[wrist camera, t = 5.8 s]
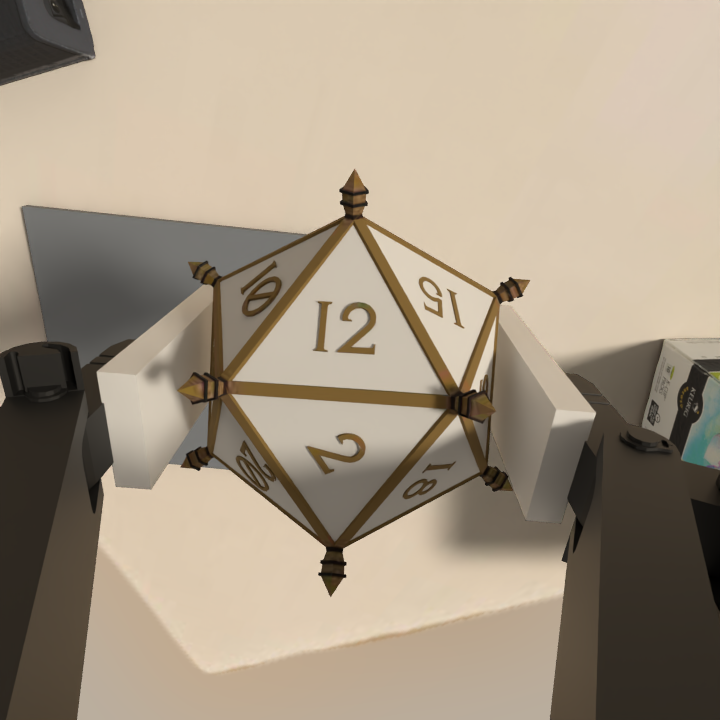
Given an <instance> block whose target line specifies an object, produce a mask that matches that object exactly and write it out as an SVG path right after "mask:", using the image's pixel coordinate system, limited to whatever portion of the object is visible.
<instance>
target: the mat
mask: <svg viewBox="0 0 720 720" xmlns="http://www.w3.org/2000/svg"><path fill="white" fill-rule="evenodd" d="M22 209H23V214H24V220H25V225H26V230H27V235H28V241H29V246H30V251H31V257H32V262H33V267H34V273H35V278H36V283H37V289H38V294H39V299H40V305H41V310H42V315H43V321H44V326H45V331H46V337H47V342H64V343H70V344H72V345H74V346H75V347H77V351H78V355H79V361H80V366H81V368H82V367H84V366H85V365H86V364H90V361H92V360H93V359H94V358H95V357H97V356H98V357H99V354H101V353H102V352H103V351H105V350H106V349H107V348H109V347H110V346H112V345H114V344H117V343H120V342H122V341H125V340H127V339H135V340H136V339H137V338H139V337H140V336H141V335H142V334H143V333H145V332H146V331H147V330H148V329H150V328H151V327H152V326H153V325H155V324H156V323H157V322H158V321H159V320H161V319H162V318H163V317H164V316H166V315H167V314H168V313H169V312H171V311H172V310H173V309H174V308H175V307H177V306H178V305H179V304H180V303H182V302H183V301H184V300H185V299H186V298H188V297H189V296H190V295H191V294H193V293H194V292H195V291H196V290H198V289H199V288H200V287H201V286H202V285H204V284H201V283H200V282H201V281H200V280H196V279H193V278H192V277H193V274H192V271H191V269H190V266H189V264H188V262H205V261H208V264H209V265H210V266H211V267H216V272H217V273H218V274H219V275H220V276H222V277H223V276H225V275H227V274H229V273H231V272H233V271H235V270H237V269H239V268H241V267H243V266H245V265H247V264H249V263H251V262H253V261H255V260H257V259H259V258H261V257H263V256H265V255H267V254H269V253H271V252H273V251H275V250H277V249H279V248H281V247H283V246H285V245H287V244H289V243H291V242H293V241H295V240H297V239H299V238H301V237H303V236H305V235H307V234H298V233H288V232H279V231H269V230H260V229H250V228H240V227H231V226H221V225H212V224H202V223H193V222H183V221H173V220H164V219H154V218H145V217H135V216H126V215H116V214H106V213H97V212H87V211H78V210H68V209H59V208H49V207H39V206H30V205H26V206H22ZM208 410H209V402H208V404H207V405H206V407H205V408H204V410H203V411H202V413H201V414H200V416H199V417H198V419H197V420H196V422H195V423H194V425H193V426H192V428H191V429H190V431H189V433H188V434H187V436H186V437H185V439H184V440H183V442H182V443H181V445H180V446H179V448H178V449H177V451H176V452H175V454H174V455H173V457H172V458H171V460H170V462H169V463H168V464H177V465H182V464H183V462H184V460H185V458H186V454H187V453H188V452H190V451H191V450H193V451H194V450H195V449H197V448H198V447H200V446H201V447H202V448H203V447H206V446H207V435H208ZM202 467H207V468H216V469H226V470H229V469H228V468H227V467H225V466H224V465H223V464H222V463H220V462H219V461H218V460H217V459H215V458H212V459H211V460H210V461H209V462H208V465H207V466H205V465H204V466H202Z"/></svg>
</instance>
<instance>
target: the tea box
mask: <svg viewBox="0 0 720 720" xmlns="http://www.w3.org/2000/svg"><path fill="white" fill-rule="evenodd" d="M642 428H645V429H648V430H651V431H654V432H656V433H658V434H660V435H662V436H664V437H665V438H667V439H668V440H669V441H671V442H672V443H673V444H674V445H675V446H676V447H677V449H678V451H679V452H680V456H681V460H682V461H686V462H689V463H693V464H697V465H701V466H705V467H709V468H713V469H717V470H720V339H672V340H669V339H665V340H664V342H663V348H662V352H661V355H660V359H659V362H658V364H657V368H656V371H655V375H654V379H653V383H652V388H651V392H650V396H649V400H648V403H647V406H646V409H645V413H644V418H643V422H642Z"/></svg>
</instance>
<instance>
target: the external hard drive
mask: <svg viewBox="0 0 720 720" xmlns="http://www.w3.org/2000/svg"><path fill="white" fill-rule="evenodd" d="M93 58H95V52H94V45H93V39H92V35H91V32H90V28H89V24H88V20H87V17H86V13H85V9H84V6H83V2H82V0H0V85H3V84H6V83H10V82H13V81H17V80H19V79H23V78H27V77H30V76H34V75H36V74H41V73H43V72H46V71H50V70H53V69H56V68H60V67H63V66H68V65H70V64H74V63H78V62H80V61H84V60H88V59H93Z"/></svg>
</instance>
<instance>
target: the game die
mask: <svg viewBox="0 0 720 720" xmlns="http://www.w3.org/2000/svg"><path fill="white" fill-rule="evenodd" d="M339 191H340V192H341V193H342V199H343V200H341V201H340V204H341V205H343V206H344V210H345V216H344V217H342V218H340V219H338V220H336V221H334V222H332V223H330V224H328V225H326V226H324V227H322V228H320V229H318V230H316V231H314V232H312V233H310V234H308V235H305V236H303V237H301V238H299V239H297V240H295V241H293V242H291V243H289V244H287V245H285V246H283V247H281V248H279V249H277V250H275V251H273V252H271V253H269V254H267V255H265V256H263V257H261V258H259V259H257V260H255V261H253V262H251V263H249V264H247V265H245V266H243V267H241V268H239V269H237V270H235V271H233V272H231V273H229V274H227V275H225V276H223V277H222V276H220V275H219V274H218V273H217V272H216V267H211V266H210V265H209V264H208V261H205V262H188V264H189V266H190V269H191V271H192V274H193V277H192V278H193V279H196V280H200V281H201V282H200V283H201V284H204V285H207V284H208V285H211V286H212V287H213V308H212V333H211V359H210V374H209V373H207V372H204V374H203V375H199V374H198V373H196V372H193V374H192V375H191V377H190V379H189V380H188V381H187V382H186V383H185V384H184V385H183V386H181V387H180V388H179V389H178V390H177V391H178V392H179V393H181V394H182V395H184V396H185V397H186V398H188V399H189V400H190V401H191V403H192V405H194V404H198V403H201V402H203V403H205V402H209V410H208V435H207V446H206V447H203V448H202V447H201V446H200V447H198V448H197V449H195V450H194V451H193V450H191V451H190V452H188V453H187V454H186V458H185V460H184V462H183V464H182V465H181V467H182V468H193V469H196V470H198V471H199V470H200V467H202V466H204V465H205V466H207V465H208V462H209V461H210V460H211V459H212V458H215V459H217V460H218V461H219V462H220V463H222V464H223V465H224V466H225V467H227V468H228V469H229V470H230V471H232V472H233V473H234V474H235V475H237V476H238V477H239V478H240V479H242V480H243V481H244V482H245V483H247V484H248V485H249V486H250V487H252V488H253V489H254V490H255V491H257V492H258V493H259V494H260V495H262V496H263V497H264V498H265V499H267V500H268V501H269V502H270V503H272V504H273V505H274V506H275V507H277V508H278V509H279V510H280V511H282V512H283V513H284V514H285V515H287V516H288V517H289V518H290V519H292V520H293V521H294V522H295V523H297V524H298V525H299V526H300V527H302V528H303V529H304V530H305V531H307V532H308V533H309V534H310V535H312V536H313V537H314V538H315V539H317V540H318V541H319V542H320V543H321V544H323V545H324V546H325V547H326V551H327V552H326V555H325V557H324V559H323V560H321V562H320V563H321V564H322V571H321V573H319V574H318V575H319V576H321V577H322V579H323V581H324V584H325V586H326V588H327V590H328V593H329V595H330V597H331V596H332V594H333V593H334V591H335V590H336V588H337V587H338V585H339V584H340V582H341V581H342V579H343V578H346V575H345V574H344V566H345V565H346V562H344V559H343V554H342V552H343V548H345V547H347V546H349V545H350V544H352V543H354V542H356V541H358V540H360V539H362V538H364V537H365V536H367V535H369V534H371V533H373V532H375V531H377V530H379V529H380V528H382V527H384V526H386V525H388V524H390V523H392V522H394V521H395V520H397V519H399V518H401V517H403V516H405V515H407V514H409V513H410V512H412V511H414V510H416V509H418V508H420V507H422V506H423V505H425V504H427V503H429V502H431V501H433V500H435V499H437V498H438V497H440V496H442V495H444V494H446V493H448V492H450V491H452V490H453V489H455V488H457V487H459V486H461V485H463V484H465V483H467V482H468V481H470V480H472V479H474V478H476V477H478V476H480V477H482V478H483V479H484V481H485V485H486V486H488V485H489V486H491V487H492V488H493V489H492V491H494V492H495V491H497V490H504V491H513V489H512V487H511V485H510V482H509V480H508V477H509V476H508V475H507V474H506V473H505V472H504V471H503V472H501V471H500V470H499V469H498V468H497V467H496V466H495V467H494V468H493V467H490V466H488V453H489V440H490V427H491V415H492V414H493V413H495V412H496V410H495V408H494V407H493V406H492V402H493V389H494V376H495V363H496V350H497V337H498V324H499V311H500V304H501V303H502V302H504V301H508V302H511V301H513V300H514V298H516V297H517V298H519V297H522V296H523V295H522V293H523V292H524V290H525V288H526V287H527V285H528V283H529V282H530V280H521V279H513V278H511V277H509V281H507V282H505V283H503V282H501V283H500V285H501V286H500V287H499V288H498V289H497V290H496V291H490V290H489V289H487V288H485V287H484V286H482V285H480V284H478V283H477V282H475V281H473V280H472V279H470V278H468V277H466V276H465V275H463V274H461V273H459V272H458V271H456V270H454V269H453V268H451V267H449V266H447V265H446V264H444V263H442V262H441V261H439V260H437V259H435V258H434V257H432V256H430V255H429V254H427V253H425V252H423V251H422V250H420V249H418V248H416V247H415V246H413V245H411V244H410V243H408V242H406V241H404V240H403V239H401V238H399V237H398V236H396V235H394V234H392V233H391V232H389V231H387V230H385V229H384V228H382V227H380V226H379V225H377V224H375V223H373V222H372V221H370V220H368V219H367V218H365V217H363V216H362V212H363V210H364V207H365V206H367V204H368V203H367V201H366V194H369V191H368V189H367V188H366V187H365V186H364V185H363V183H362V181H361V179H360V178H359V176H358V174H357V172H356V170H355V169H354V171H353V172H352V174H351V176H350V177H349V179H348V181H347V182H346V184H345V186H344V187H342V188H341V189H339Z"/></svg>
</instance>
